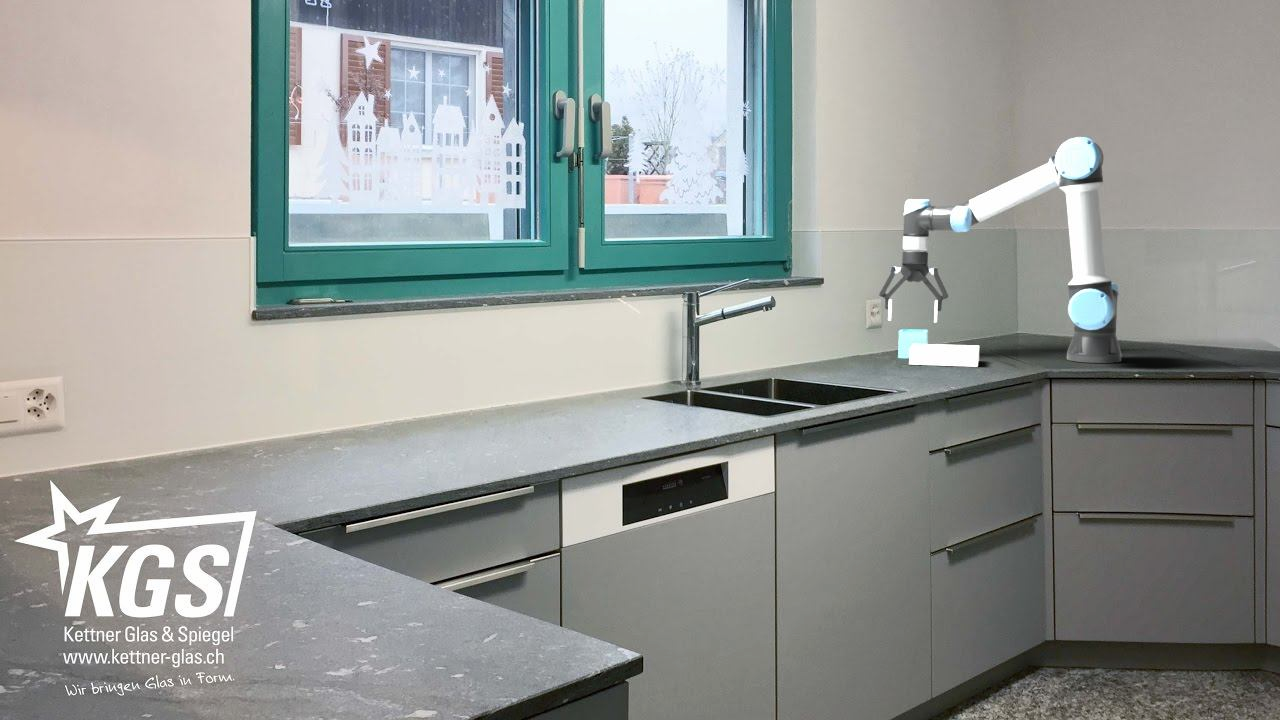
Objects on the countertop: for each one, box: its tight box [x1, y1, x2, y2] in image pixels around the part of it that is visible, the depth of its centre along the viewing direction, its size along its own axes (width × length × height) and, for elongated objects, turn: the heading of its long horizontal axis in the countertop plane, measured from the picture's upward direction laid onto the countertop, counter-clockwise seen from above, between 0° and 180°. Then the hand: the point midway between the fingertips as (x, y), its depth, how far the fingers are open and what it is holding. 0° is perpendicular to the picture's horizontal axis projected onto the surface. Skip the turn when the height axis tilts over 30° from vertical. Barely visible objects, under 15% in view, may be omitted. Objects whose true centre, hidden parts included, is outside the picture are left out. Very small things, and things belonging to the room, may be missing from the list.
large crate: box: [908, 343, 980, 368], centre depth 352 cm, size 19×14×4 cm
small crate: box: [897, 328, 929, 359], centre depth 367 cm, size 8×8×8 cm
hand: (912, 321), depth 366 cm, fingers open, 13 cm apart
